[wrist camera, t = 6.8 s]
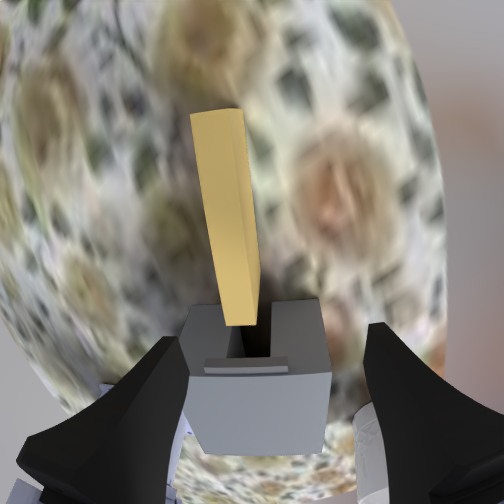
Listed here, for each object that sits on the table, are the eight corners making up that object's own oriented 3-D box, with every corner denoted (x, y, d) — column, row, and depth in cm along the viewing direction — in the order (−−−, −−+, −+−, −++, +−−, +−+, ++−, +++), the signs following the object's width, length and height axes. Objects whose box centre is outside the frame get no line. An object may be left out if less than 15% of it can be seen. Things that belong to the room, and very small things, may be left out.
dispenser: (216, 391, 26) (204, 453, 20) (189, 298, 22) (162, 367, 15) (315, 388, 25) (321, 453, 19) (318, 291, 21) (333, 364, 14)
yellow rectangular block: (237, 271, 20) (226, 325, 15) (215, 112, 16) (189, 114, 11) (260, 269, 20) (256, 324, 15) (242, 109, 16) (228, 108, 11)
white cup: (337, 409, 27) (347, 498, 18) (411, 379, 25) (440, 467, 16) (357, 438, 29) (368, 511, 20) (420, 413, 27) (441, 485, 18)
